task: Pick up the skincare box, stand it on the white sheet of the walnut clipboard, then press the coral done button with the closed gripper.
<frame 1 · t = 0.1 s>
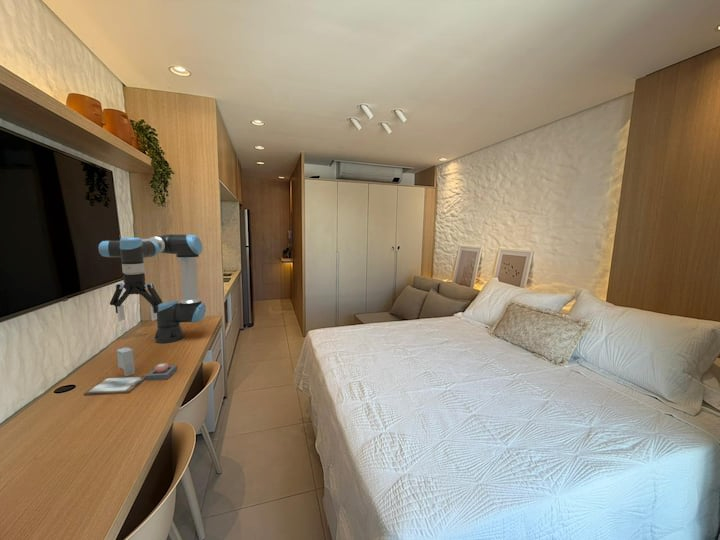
hand: (138, 320, 127), 28 cm above the table, fingers open, 13 cm apart
skincare box: (127, 374, 135), on the table
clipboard: (117, 385, 125), on the table
button base: (162, 375, 134), on the table
done button: (161, 368, 134), point 4 cm above the table, slide at 0.0 cm
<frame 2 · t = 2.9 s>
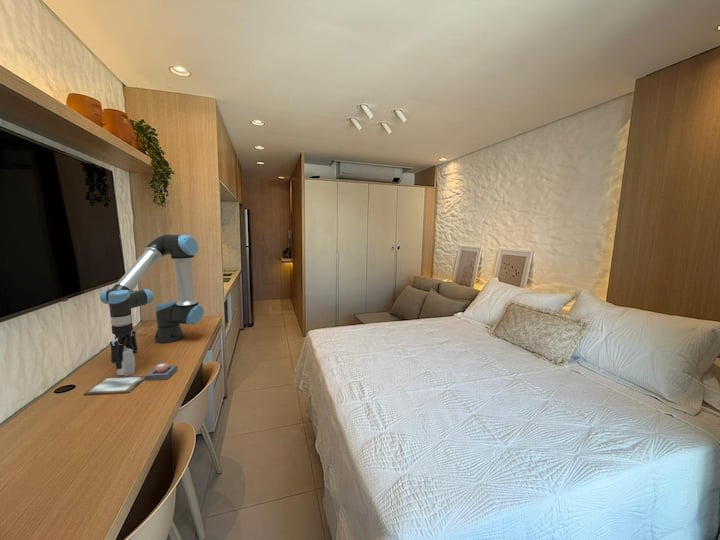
hand: (126, 370, 135), 2 cm above the table, fingers closed on skincare box, 7 cm apart
skincare box: (127, 374, 135), on the table, touching gripper
everything else where it was.
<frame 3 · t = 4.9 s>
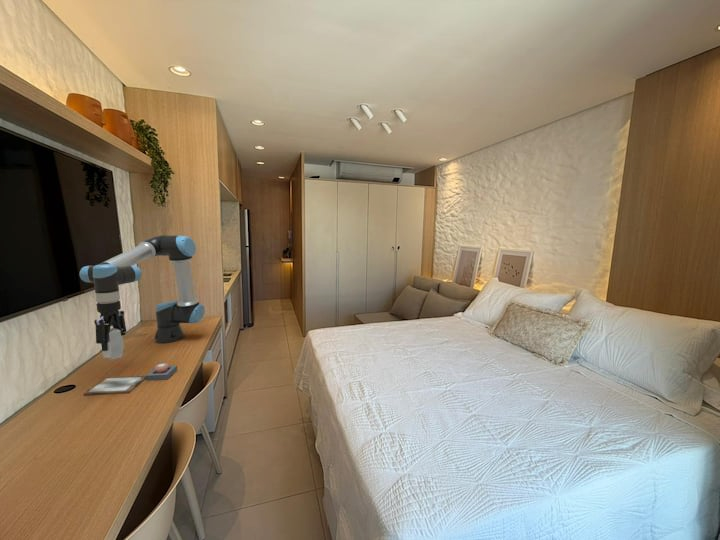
hand: (113, 353, 123), 15 cm above the table, fingers closed on skincare box, 7 cm apart
skincare box: (114, 357, 123), point 13 cm above the table, touching gripper
everything else where it was.
when the fingers open (4 cm above the table, at t = 7.2 s): skincare box drops 1 cm, resting on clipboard.
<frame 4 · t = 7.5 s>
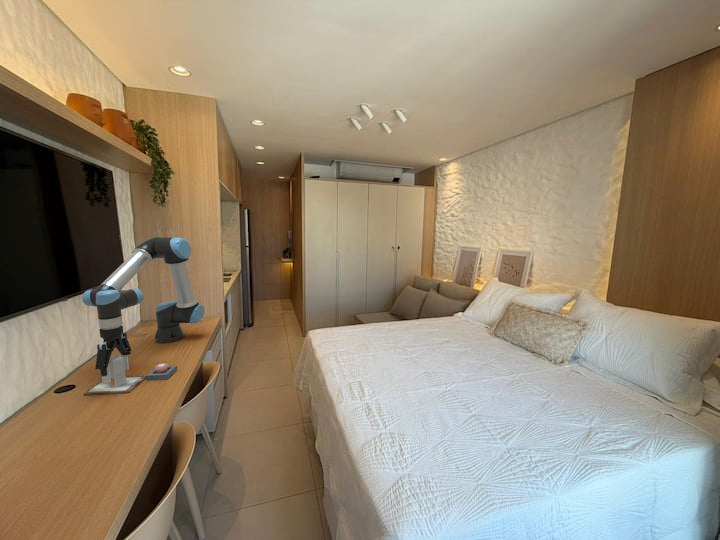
hand: (116, 375, 124), 5 cm above the table, fingers open, 10 cm apart
skincare box: (117, 384, 125), point 1 cm above the table, touching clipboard
everything else where it was.
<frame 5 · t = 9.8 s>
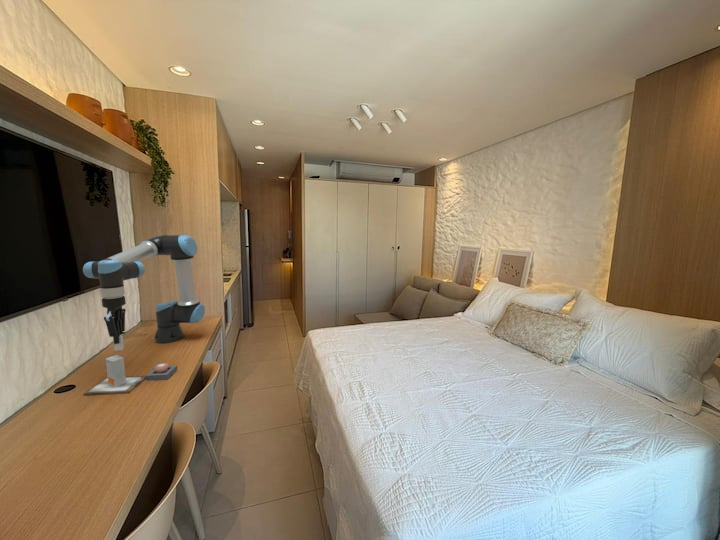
hand: (119, 349, 124), 16 cm above the table, fingers closed
nothing on the table moved.
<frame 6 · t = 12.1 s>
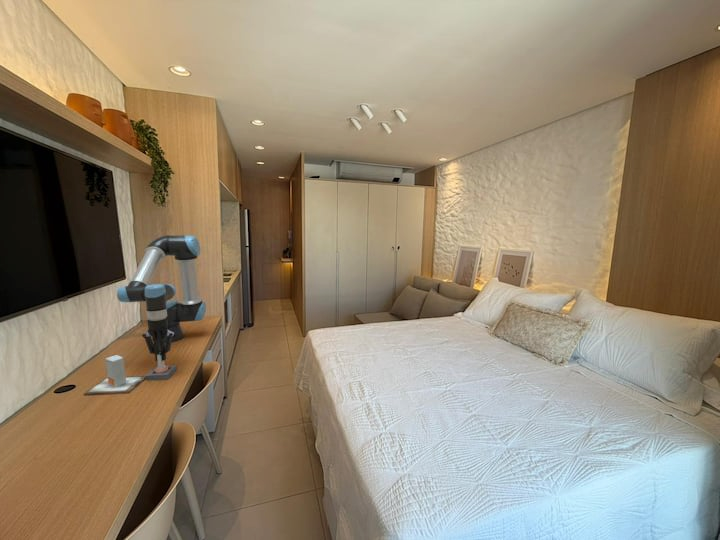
hand: (161, 366, 134), 4 cm above the table, fingers closed
done button: (161, 370, 134), point 2 cm above the table, slide at 1.2 cm, touching gripper
everything else where it was.
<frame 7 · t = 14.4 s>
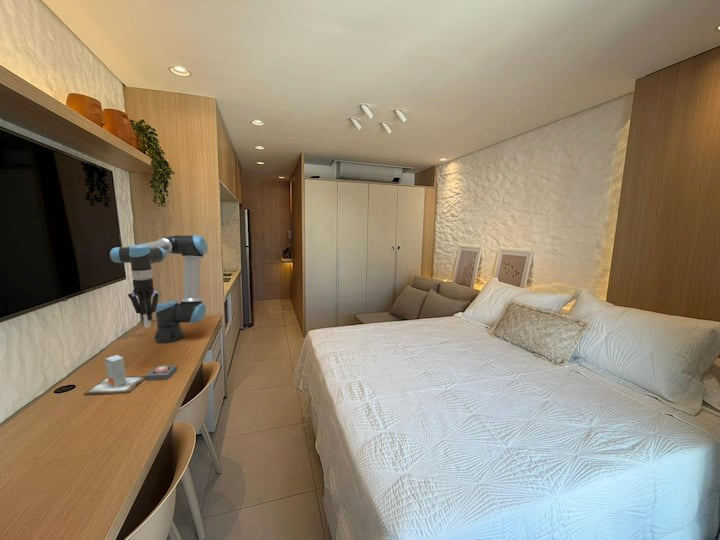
hand: (147, 326, 136), 22 cm above the table, fingers closed
done button: (161, 370, 134), point 2 cm above the table, slide at 1.4 cm
everything else where it was.
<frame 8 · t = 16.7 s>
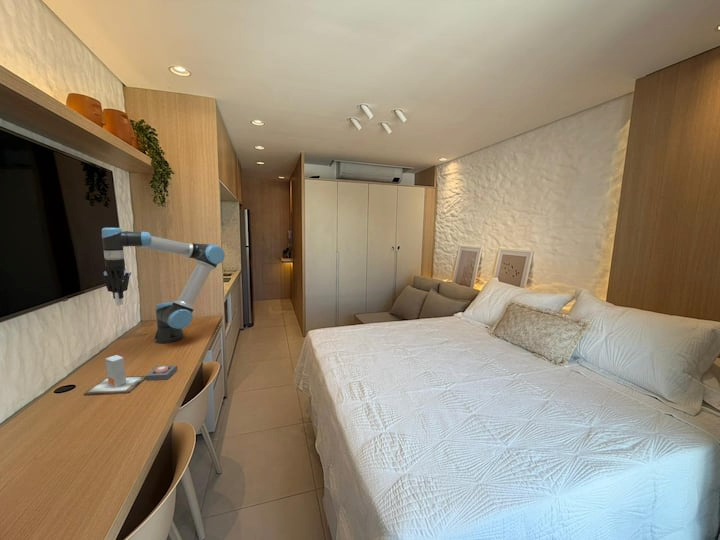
hand: (119, 304, 145), 29 cm above the table, fingers closed
nothing on the table moved.
at the end: skincare box inside the target area on the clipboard (0.1 cm from its centre), point 0.8 cm above the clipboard's base; skincare box tilted 0°; done button slide at 1.4 cm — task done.
